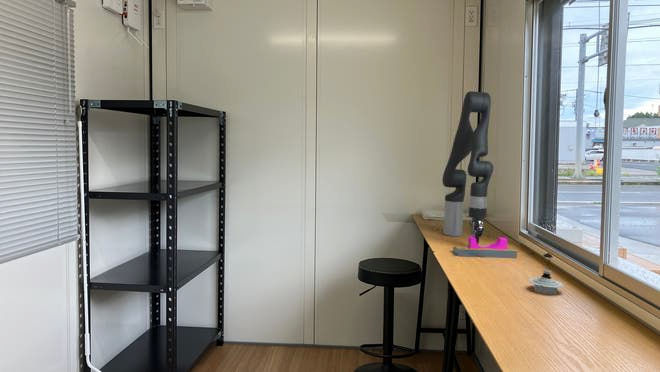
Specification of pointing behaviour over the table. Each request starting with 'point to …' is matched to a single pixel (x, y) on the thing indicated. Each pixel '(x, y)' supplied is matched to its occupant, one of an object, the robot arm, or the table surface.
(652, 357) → the table surface
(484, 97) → the robot arm
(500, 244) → the toy block
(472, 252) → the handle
